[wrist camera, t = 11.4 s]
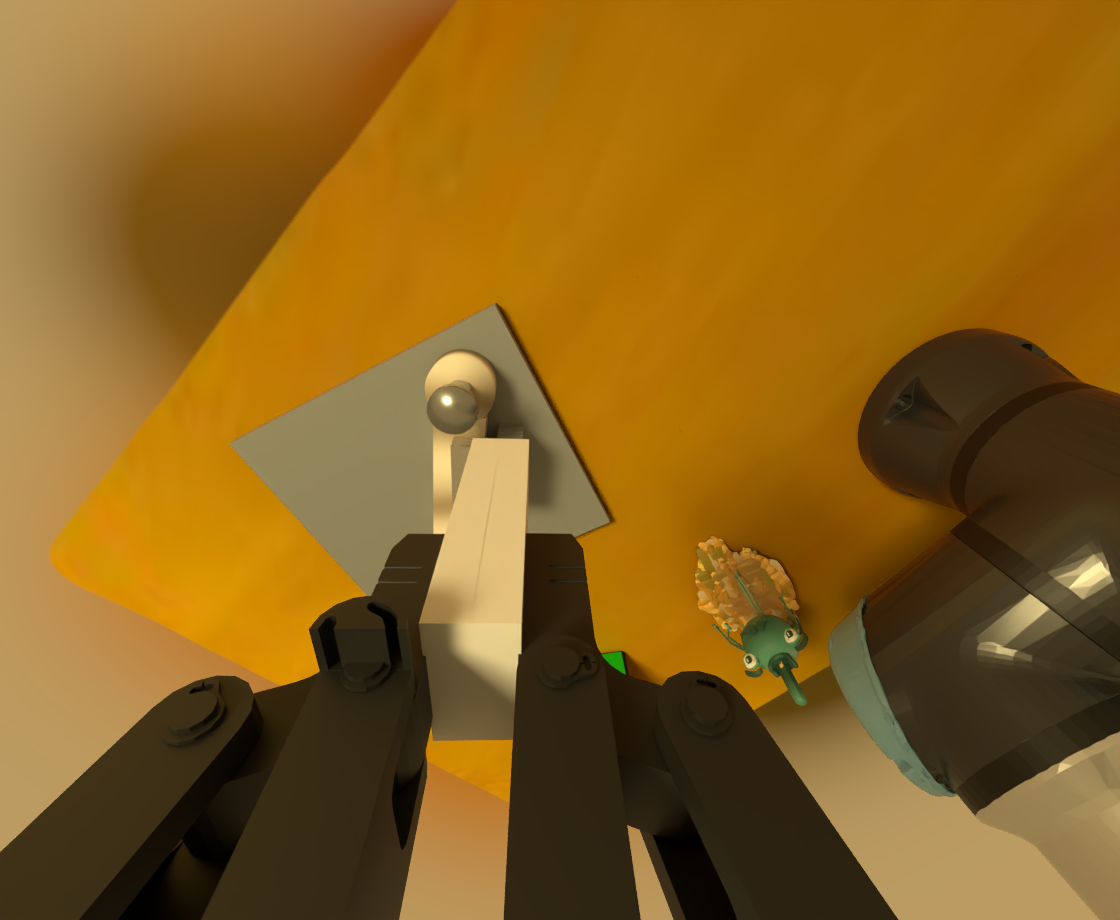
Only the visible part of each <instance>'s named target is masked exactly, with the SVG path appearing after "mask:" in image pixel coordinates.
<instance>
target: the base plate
mask: <svg viewBox="0 0 1120 920" xmlns="http://www.w3.org/2000/svg"><path fill="white" fill-rule="evenodd" d="M456 349H467V350H472V351H475V352H477V353H479V354H481V355H482V356H483V357H485V358H486V359H487V360H488V361H489V362H490V364H491V365H492V367H493V368H494V370H495V373H496V376H497V389H496V394H495V399H494V403H493V405H492V407H491V409H490V411H489V412H488V424H487V438H497V434H498V428H499V423H510V424H523V439H529V486H528V533H555V534H572V535H573V536H574V537H576V536H579V535H581V534H583V533H586V532H588V531H590V530H593V529H595V528H597V527H600V526H602V525H605V524H607V523H609V522H610V520H609V516H608V513H607V512H606V510H605V508H604V506H603V504H602V502H601V500H600V498H599V496H598V495H597V493H596V491H595V489H594V487H593V485H592V483H591V481H590V479H589V478H588V476H587V474H586V472H585V470H584V468H583V466H582V464H581V462H580V461H579V459H578V457H577V455H576V453H575V451H574V449H573V447H572V445H571V444H570V442H569V440H568V438H567V436H566V434H565V432H564V430H563V428H562V427H561V425H560V423H559V421H558V419H557V417H556V415H555V413H554V411H553V410H552V408H551V406H550V404H549V402H548V400H547V398H546V396H545V394H544V393H543V391H542V389H541V387H540V385H539V383H538V381H537V379H536V377H535V376H534V374H533V372H532V370H531V368H530V366H529V364H528V362H527V360H526V359H525V357H524V355H523V353H522V351H521V349H520V347H519V345H518V343H517V342H516V340H515V338H514V336H513V334H512V332H511V330H510V328H509V326H508V325H507V323H506V321H505V319H504V317H503V315H502V313H501V311H500V309H499V308H498V306H497V304H496V303H494V304H492V305H490V306H488V307H486V308H485V309H483V310H481V311H479V312H477V313H475V314H473V315H471V316H469V317H467V318H465V319H464V320H462V321H460V322H458V323H456V324H454V325H452V326H450V327H448V328H446V329H444V330H443V331H441V332H439V333H437V334H435V335H433V336H431V337H429V338H427V339H425V340H423V341H422V342H420V343H418V344H416V345H414V346H412V347H410V348H408V349H406V350H404V351H402V352H401V353H399V354H397V355H395V356H393V357H391V358H389V359H387V360H385V361H383V362H381V363H380V364H378V365H376V366H374V367H372V368H370V369H368V370H366V371H364V372H362V373H360V374H359V375H357V376H355V377H353V378H351V379H349V380H347V381H345V382H343V383H341V384H339V385H338V386H336V387H334V388H332V389H330V390H328V391H326V392H324V393H322V394H320V395H319V396H317V397H315V398H313V399H311V400H309V401H307V402H305V403H303V404H301V405H299V406H298V407H296V408H294V409H292V410H290V411H288V412H286V413H284V414H282V415H280V416H278V417H277V418H275V419H273V420H271V421H269V422H267V423H265V424H263V425H261V426H259V427H257V428H256V429H254V430H252V431H250V432H248V433H246V434H244V435H242V436H240V437H238V438H237V439H235V440H234V441H233V442H231V443H230V444H229V445H230V446H231V447H232V448H233V449H234V450H235V451H236V452H237V453H238V454H239V456H240V457H241V458H242V459H243V460H244V461H245V462H246V463H247V464H248V465H249V466H250V468H251V469H252V470H253V471H254V472H255V473H256V474H257V475H258V476H259V477H260V479H261V480H262V481H263V482H264V483H265V484H266V485H267V486H268V487H269V488H270V489H271V491H272V492H273V493H274V494H275V495H276V496H277V497H278V498H279V499H280V500H281V501H282V503H283V504H284V505H285V506H286V507H287V508H288V509H289V510H290V511H291V512H292V514H293V515H294V516H295V517H296V518H297V519H298V520H299V521H300V522H301V523H302V524H303V526H304V527H305V528H306V529H307V530H308V531H309V532H310V533H311V534H312V535H313V537H314V538H315V539H316V540H317V541H318V542H319V543H320V544H321V545H322V546H323V547H324V549H325V550H326V551H327V552H328V553H329V554H330V555H331V556H332V557H333V558H334V560H335V561H336V562H337V563H338V564H339V565H340V566H341V567H342V568H343V569H344V570H345V572H346V573H347V574H348V575H349V576H350V577H351V578H352V579H353V580H354V581H355V583H356V584H357V585H358V586H359V587H360V588H361V589H362V590H363V591H364V592H365V593H366V595H367V596H371V595H372V593H373V590H374V588H375V586H376V584H378V579H379V577H380V574H381V572H382V570H383V569H384V565H385V563H386V561H387V558H388V556H389V554H390V552H391V549H392V548H393V547H394V546H395V545H396V544H397V543H398V542H400V541H401V540H402V539H403V538H404V537H405V536H406V535H407V534H433V424H432V423H431V422H430V420H429V418H428V415H427V403H428V401H427V398H426V395H425V382H426V378H427V375H428V374H429V372H430V370H431V369H432V367H433V365H434V364H435V362H436V361H437V360H438V359H439V358H440V357H441V356H442V355H443V354H445V353H447V352H449V351H452V350H456Z"/></svg>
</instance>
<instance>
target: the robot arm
mask: <svg viewBox="0 0 1120 920" xmlns="http://www.w3.org/2000/svg"><path fill="white" fill-rule="evenodd" d="M858 444H859V450H860V454H861V456H862V459H863V461H864V463H865V464H866V466H867V467H868V469H869V470H870V471H871V472H872V473H873V474H874V475H875V476H877V477H878V478H879V479H881V480H882V481H883V482H884V483H886V484H887V485H888V486H890V487H891V488H893V489H895V490H897V491H899V492H901V493H903V494H905V495H909V496H913V497H916V498H921V499H926V500H929V501H932V502H935V503H938V504H941V505H944V506H947V507H950V508H953V509H956V510H959V511H961V512H962V513H964V514H965V515H967V516H968V517H967V518H965V519H964V520H963V521H962V522H961V523H959V524H958V525H957V526H956V527H955V528H953V529H952V530H951V531H949V532H948V533H946V534H945V535H944V536H943V537H942V538H940V539H939V540H938V541H937V542H935V543H934V544H933V545H932V546H931V547H929V548H928V549H927V550H926V551H924V552H923V553H922V554H921V555H920V556H918V557H917V558H916V559H915V560H914V561H912V562H911V563H910V564H909V565H907V566H906V567H905V568H904V569H903V570H901V571H900V572H899V573H898V574H896V575H895V576H894V577H893V578H891V579H890V580H889V581H887V582H886V583H885V584H884V585H882V586H881V587H880V588H878V589H877V590H876V591H875V592H873V593H872V594H871V595H867V596H865V597H863V598H862V599H861V600H860V601H859V603H858V605H857V607H856V608H855V609H854V610H853V611H852V612H851V613H850V614H849V615H848V616H847V617H845V618H844V619H843V620H842V621H841V622H840V623H839V624H838V625H837V626H836V627H835V628H834V629H833V631H832V632H831V635H830V638H829V648H828V649H829V654H830V663H831V666H832V669H833V672H834V675H835V677H836V680H837V682H838V684H839V686H840V688H841V690H842V692H843V694H844V696H845V698H846V700H847V702H848V703H849V705H850V707H851V708H852V710H853V712H854V713H855V715H856V716H857V718H858V719H859V721H860V723H861V724H862V726H863V727H864V728H865V730H866V731H867V733H868V734H869V735H870V737H871V738H872V740H873V741H874V742H875V743H876V745H877V746H878V747H879V748H880V750H881V751H882V752H883V753H884V754H885V755H886V756H887V757H888V758H889V759H892V760H894V761H895V763H896V765H897V766H898V768H899V769H900V771H901V773H902V774H903V775H905V776H906V777H907V778H908V779H909V780H910V781H911V782H912V783H913V784H915V785H916V786H917V787H919V788H921V789H922V790H924V791H925V792H927V793H929V794H931V795H935V796H948V797H954V796H956V795H958V796H959V797H960V798H961V799H962V801H963V802H964V803H965V804H966V806H967V807H968V808H969V809H970V810H971V811H972V813H973V814H974V815H975V816H976V817H977V818H978V819H979V821H980V822H982V823H984V824H986V825H989V826H992V827H995V828H997V829H1000V830H1003V831H1005V832H1008V833H1011V834H1013V835H1016V836H1019V837H1021V838H1023V839H1025V840H1026V841H1028V842H1029V843H1031V844H1033V845H1035V846H1036V847H1037V848H1038V850H1039V851H1040V852H1041V853H1042V854H1043V855H1044V856H1045V858H1046V859H1047V860H1048V861H1049V862H1050V863H1051V864H1052V866H1053V867H1054V868H1055V869H1056V870H1057V871H1058V873H1059V874H1060V875H1061V876H1062V877H1063V878H1064V879H1065V881H1066V882H1067V883H1068V884H1069V885H1070V886H1071V887H1072V889H1073V890H1074V891H1075V892H1076V893H1077V894H1078V895H1079V897H1080V898H1081V899H1082V900H1083V901H1084V902H1085V903H1086V905H1087V906H1088V907H1089V908H1090V909H1091V910H1092V912H1093V913H1094V914H1095V915H1096V916H1097V917H1098V918H1099V920H1120V394H1118V393H1115V392H1112V391H1109V390H1105V389H1102V388H1099V387H1095V386H1092V385H1089V384H1086V383H1083V382H1082V381H1081V380H1079V379H1078V378H1077V377H1076V376H1074V375H1073V374H1072V373H1071V372H1069V371H1068V370H1067V369H1066V368H1064V367H1063V366H1062V365H1061V364H1059V363H1058V362H1057V361H1055V360H1054V359H1052V358H1050V357H1049V356H1048V355H1047V354H1046V353H1045V352H1044V351H1043V350H1042V349H1041V348H1039V347H1038V346H1037V345H1035V344H1033V343H1032V342H1030V341H1028V340H1026V339H1023V338H1021V337H1018V336H1014V335H1010V334H1007V333H1003V332H999V331H995V330H990V329H966V330H960V331H955V332H952V333H948V334H945V335H942V336H940V337H937V338H935V339H933V340H931V341H929V342H927V343H925V344H923V345H921V346H920V347H918V348H916V349H915V350H913V351H912V352H910V353H909V354H908V355H906V356H905V357H904V358H903V359H901V360H900V361H899V362H898V363H897V364H896V365H895V366H894V367H893V368H891V369H890V371H889V372H888V373H887V374H886V375H885V376H884V377H883V378H882V380H881V381H880V382H879V384H878V385H877V386H876V388H875V389H874V391H873V392H872V394H871V396H870V397H869V399H868V401H867V403H866V406H865V408H864V410H863V413H862V416H861V420H860V424H859V431H858ZM528 486H529V439H492V438H473V440H472V443H471V447H470V450H469V454H468V457H467V460H466V464H465V467H464V471H463V474H462V478H461V481H460V484H459V488H458V491H457V495H456V498H455V501H454V505H453V508H452V512H451V515H450V518H449V522H448V525H447V529H446V532H445V534H407V535H406V536H405V537H404V538H403V539H402V540H401V541H400V542H398V543H397V544H396V545H395V546H394V547H393V548H392V549H391V552H390V554H389V556H388V558H387V561H386V563H385V565H384V569H383V570H382V572H381V574H380V577H379V579H378V584H376V586H375V588H374V590H373V593H372V595H371V596H365V597H357V598H352V599H350V600H347V601H344V602H342V603H339V604H336V605H335V606H333V607H332V608H330V609H329V610H327V611H326V612H324V613H323V614H321V615H320V616H319V617H318V619H317V620H316V621H315V622H314V623H313V625H312V626H311V627H310V628H309V632H310V635H311V639H312V643H313V647H314V651H315V654H316V658H317V662H318V666H319V669H320V671H319V673H317V674H315V675H313V676H311V677H309V678H306V679H303V680H300V681H297V682H295V683H291V684H287V685H283V686H280V687H276V688H273V689H269V690H265V691H261V692H258V693H254V694H253V692H252V690H251V688H250V685H249V683H248V682H246V681H244V680H242V679H240V678H238V677H236V676H214V677H210V678H206V679H202V680H198V681H195V682H193V683H191V684H189V685H187V686H185V687H183V688H181V689H179V690H177V691H175V692H173V693H172V694H170V695H169V696H168V697H166V698H165V699H164V700H162V701H161V702H160V703H158V704H157V705H156V706H155V707H153V708H152V709H151V710H150V711H149V712H148V713H147V714H146V715H145V716H144V717H143V718H142V719H141V720H139V721H138V722H137V723H136V724H135V725H134V726H133V727H132V728H131V729H130V730H129V731H128V732H127V733H126V734H125V735H124V736H123V737H121V738H120V739H119V740H118V741H117V742H116V743H115V744H114V745H113V746H112V747H111V748H110V749H109V750H108V751H107V752H106V753H105V754H104V755H102V756H101V757H100V758H99V759H98V760H97V761H96V762H95V763H94V764H93V765H92V766H91V767H90V768H89V769H88V770H87V771H86V772H84V773H83V774H82V775H81V776H80V777H79V778H78V779H77V780H76V781H75V782H74V783H73V784H72V785H71V786H70V787H69V788H68V789H66V791H64V792H63V793H62V794H61V795H60V796H59V797H58V798H57V799H56V800H55V801H54V802H53V803H52V804H51V805H50V806H49V807H47V809H45V810H44V811H43V812H42V813H41V814H40V815H39V816H38V817H37V818H36V819H35V820H34V821H33V822H32V823H31V824H30V825H28V827H26V828H25V829H24V830H23V831H22V832H21V833H20V834H19V835H18V836H17V837H16V838H15V839H14V840H13V841H12V842H10V843H9V844H8V846H6V847H5V848H4V849H3V850H2V851H1V852H0V920H399V916H400V912H401V907H402V901H403V896H404V891H405V886H406V881H407V876H408V871H409V865H410V860H411V855H412V850H413V845H414V840H415V835H416V830H417V825H418V820H419V815H420V809H421V804H422V799H423V794H424V789H425V784H426V779H427V758H426V747H427V742H428V737H429V733H430V728H431V727H432V735H433V741H444V740H513V749H512V768H511V787H510V808H509V826H508V847H507V866H506V884H505V905H504V920H641V919H640V912H639V905H638V898H637V891H636V884H635V878H634V871H633V864H632V856H631V849H630V842H629V835H628V828H627V825H629V826H631V827H634V828H637V829H640V832H641V834H642V837H643V840H644V842H645V845H646V848H647V850H648V853H649V855H650V858H651V861H652V863H653V866H654V869H655V871H656V874H657V877H658V879H659V882H660V885H661V887H662V890H663V893H664V895H665V898H666V900H667V903H668V906H669V909H670V911H671V914H672V917H673V919H674V920H898V919H897V917H896V916H895V914H894V913H893V911H892V910H891V909H890V907H889V906H888V904H887V903H886V902H885V900H884V898H883V897H882V896H881V894H880V893H879V891H878V890H877V888H876V887H875V885H874V884H873V883H872V881H871V880H870V878H869V877H868V875H867V874H866V873H865V871H864V870H863V868H862V867H861V865H860V864H859V862H858V861H857V859H856V858H855V857H854V855H853V854H852V852H851V851H850V849H849V848H848V847H847V845H846V844H845V842H844V841H843V839H842V838H841V836H840V835H839V833H838V832H837V831H836V829H835V828H834V826H833V825H832V824H831V822H830V820H829V819H828V818H827V816H826V815H825V813H824V812H823V810H822V809H821V807H820V806H819V805H818V803H817V802H816V800H815V799H814V797H813V796H812V794H811V793H810V792H809V790H808V789H807V787H806V786H805V784H804V783H803V782H802V780H801V779H800V777H799V776H798V774H797V773H796V771H795V770H794V768H793V767H792V766H791V764H790V763H789V761H788V760H787V758H786V757H785V756H784V754H783V753H782V751H781V750H780V748H779V747H778V745H777V744H776V743H775V741H774V740H773V738H772V737H771V735H770V734H769V732H768V731H767V730H766V728H765V727H764V725H763V724H762V722H761V721H760V719H759V718H758V717H757V715H756V714H755V712H754V711H753V709H752V708H751V706H750V705H749V704H748V702H747V701H746V700H745V698H744V697H743V696H742V695H741V694H740V693H739V692H738V691H737V690H736V689H735V688H734V687H733V686H732V685H730V684H729V683H727V682H725V681H724V680H722V679H720V678H719V677H717V676H715V675H711V674H708V673H704V672H700V671H686V672H680V673H678V674H676V675H674V676H671V677H669V678H668V679H667V680H666V681H665V683H664V684H663V685H662V686H660V685H657V684H653V683H650V682H647V681H643V680H640V679H636V678H634V677H631V676H629V675H626V674H624V673H622V672H620V671H619V670H617V669H616V668H614V667H613V666H611V665H610V664H609V663H608V662H607V661H606V660H605V659H604V658H603V656H602V654H601V653H600V651H599V650H598V648H597V644H596V641H595V637H594V629H593V622H592V614H591V607H590V599H589V592H588V584H587V577H586V569H585V561H584V554H583V548H582V547H581V545H580V544H579V543H578V542H577V540H576V539H575V538H574V536H573V535H572V534H555V533H528Z"/></svg>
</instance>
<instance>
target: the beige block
mask: <svg viewBox="0 0 1120 920" xmlns="http://www.w3.org/2000/svg"><path fill="white" fill-rule="evenodd" d="M478 412H479V406H478V402H477V399H476V397H475V396H474V395H473V390H472V388H471V386H470V385H469V384H468V383H467V382H465V381H462V380H455V381H452V382H451V383H450V384H447V385H443V386H441V387H439V388H437V389H436V390H435V391H434V392H433V393H432V395H431V397H430V398H429V401H428V403H427V415H428V418H429V420H430V422H431V423H432V424H433V426H434V427H436V428H437V429H438V430H440V431H442V432H444V433H447V434H453V435H455V434H462V433H464V432H466V431H468V430H470V429H471V428H472V427H473V425H474V424H475V422H476V420H477V417H478ZM473 438H483V437H461V436H454V437H453V440H452V443H451V446H450V449H451V478H452V507H453V505H454V501H455V498H456V495H457V491H458V488H459V484H460V481H461V478H462V474H463V471H464V467H465V464H466V460H467V457H468V454H469V450H470V447H471V443H472V440H473ZM492 439H523V424H510V423H499V428H498V434H497V438H492Z"/></svg>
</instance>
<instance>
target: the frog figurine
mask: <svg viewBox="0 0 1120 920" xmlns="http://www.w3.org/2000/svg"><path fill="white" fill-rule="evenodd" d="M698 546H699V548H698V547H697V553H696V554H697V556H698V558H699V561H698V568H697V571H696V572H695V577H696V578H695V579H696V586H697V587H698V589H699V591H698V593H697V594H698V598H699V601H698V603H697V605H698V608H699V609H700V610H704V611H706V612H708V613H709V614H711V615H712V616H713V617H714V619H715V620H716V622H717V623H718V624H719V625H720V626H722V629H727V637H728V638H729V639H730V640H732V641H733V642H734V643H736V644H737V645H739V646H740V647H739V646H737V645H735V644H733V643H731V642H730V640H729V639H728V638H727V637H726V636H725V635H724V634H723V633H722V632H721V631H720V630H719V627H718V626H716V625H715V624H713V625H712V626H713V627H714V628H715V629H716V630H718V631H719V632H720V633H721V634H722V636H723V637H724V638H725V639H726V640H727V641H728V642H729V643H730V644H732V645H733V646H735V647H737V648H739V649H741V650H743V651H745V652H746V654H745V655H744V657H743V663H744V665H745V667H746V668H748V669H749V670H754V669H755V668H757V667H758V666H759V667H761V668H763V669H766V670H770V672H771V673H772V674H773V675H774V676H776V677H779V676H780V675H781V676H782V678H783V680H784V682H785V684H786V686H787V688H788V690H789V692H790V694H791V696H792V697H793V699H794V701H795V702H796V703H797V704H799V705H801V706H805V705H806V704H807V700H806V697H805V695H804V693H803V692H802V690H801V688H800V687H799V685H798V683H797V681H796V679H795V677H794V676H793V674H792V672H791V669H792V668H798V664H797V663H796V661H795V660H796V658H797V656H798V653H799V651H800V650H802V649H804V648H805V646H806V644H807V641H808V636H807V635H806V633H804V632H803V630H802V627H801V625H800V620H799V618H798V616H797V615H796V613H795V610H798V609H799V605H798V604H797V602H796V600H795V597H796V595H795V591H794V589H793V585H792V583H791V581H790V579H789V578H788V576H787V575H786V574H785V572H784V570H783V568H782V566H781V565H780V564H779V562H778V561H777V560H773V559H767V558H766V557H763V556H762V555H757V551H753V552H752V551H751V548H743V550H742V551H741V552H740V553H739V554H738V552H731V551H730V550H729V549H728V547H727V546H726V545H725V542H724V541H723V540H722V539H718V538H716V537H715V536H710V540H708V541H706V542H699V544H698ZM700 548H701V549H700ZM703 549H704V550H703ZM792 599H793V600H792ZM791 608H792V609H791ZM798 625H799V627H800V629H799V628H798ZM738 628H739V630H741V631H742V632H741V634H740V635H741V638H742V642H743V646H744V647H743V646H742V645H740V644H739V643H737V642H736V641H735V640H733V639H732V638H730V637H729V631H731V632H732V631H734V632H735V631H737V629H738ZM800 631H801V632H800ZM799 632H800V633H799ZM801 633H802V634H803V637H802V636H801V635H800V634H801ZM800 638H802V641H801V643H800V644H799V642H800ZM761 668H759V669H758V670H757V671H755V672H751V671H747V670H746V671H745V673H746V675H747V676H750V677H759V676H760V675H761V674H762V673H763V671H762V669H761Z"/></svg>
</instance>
